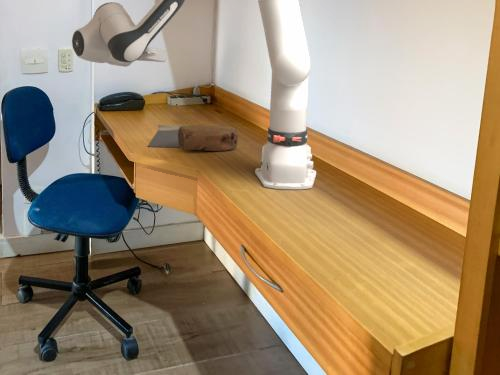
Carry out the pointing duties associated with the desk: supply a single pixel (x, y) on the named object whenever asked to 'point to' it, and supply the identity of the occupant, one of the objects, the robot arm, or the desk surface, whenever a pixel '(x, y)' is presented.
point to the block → (207, 137)
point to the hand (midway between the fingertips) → (156, 57)
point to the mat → (165, 140)
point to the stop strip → (169, 127)
